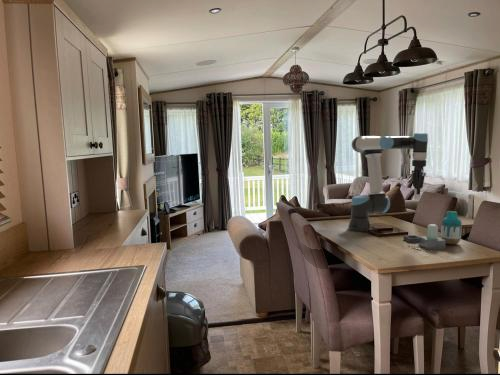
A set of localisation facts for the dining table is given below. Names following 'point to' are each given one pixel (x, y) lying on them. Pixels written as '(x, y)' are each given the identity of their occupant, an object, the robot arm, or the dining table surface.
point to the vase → (451, 228)
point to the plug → (432, 232)
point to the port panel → (432, 243)
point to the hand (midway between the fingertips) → (416, 199)
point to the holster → (411, 238)
